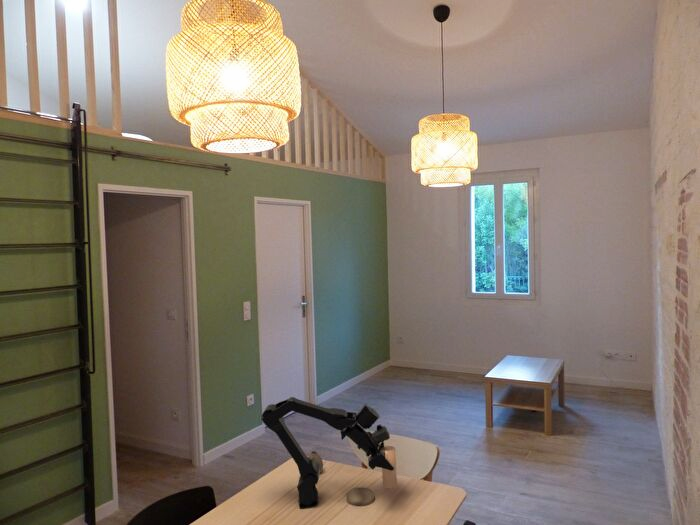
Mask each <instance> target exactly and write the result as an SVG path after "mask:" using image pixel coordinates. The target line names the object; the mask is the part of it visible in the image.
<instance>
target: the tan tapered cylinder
mask: <svg viewBox="0 0 700 525" xmlns="http://www.w3.org/2000/svg"><path fill="white" fill-rule="evenodd" d="M381 450H382V451H383V452H384V451H385V458H386V459H387V460H388V461H389V462H390V464H391V465H392V466H393V467H394V470H393V471H391V470H387V469H384V468H381V474H382V476H381V478H382V480H381V481H382V486H383V487H385V488H386V489H387V488H389V489H390V488H395V487H396V486H398V478H397V476H398V474H397V457H396V456H397V454H396V447H394V446H393V445H391V446H390V445H384V447H382V448H381Z"/></svg>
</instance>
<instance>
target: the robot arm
mask: <svg viewBox="0 0 700 525" xmlns="http://www.w3.org/2000/svg"><path fill="white" fill-rule="evenodd" d="M291 412H294V413H297V414H301V415H304V416H306V417H307V416H308V417H310V418H312V419H313V418H314V419H316V420H319V421H322V422H324V423H326V424H327V426H330V427H331V428H334V429H335V430H337V431H340V436H341V439H340V440H344V439H345V438H346V437H347V438H349V439H350V440H351V441H352V442H353V443H354V444H355V446H356V447H357V449H358V450H362V451H363V452H364V453H365V455H366V457H367V460H368V461H367V463H368V468H370V469H371V470H372V471H373V470H375V469H376V468H380V469H382V468H384V469H387V470H391V471H393V470H394V467H393V466H392V465H391V464H390V462H389V461H388V460H387V459H386V458H385V451H384V452H383V451H382V450H381V448H382V447H385V442H384V441H388V440H390V439H391V436H390V433H389V431H388V428H387V427H386V426H385V425H382V424H381V423H380V424H378V425H376V430H374V432H371V431H370V430H369V429H370V428H371V427H372V426H373V425H374V424H375V423H376V422H377V420H379V418H380V414H379V413H378V411H376V410H375V409H374V408H373V407H370V406H368V405H367V404H363V406H362V408H361V409H360V410H359V411H358V412H351V411H347V410H345V409H343V408H337V407H334V408H332V407H330V408H328V407H323V406H320V405H317V404H314V403H312V402H308V401H305V400H302V399H298V398H296V397H294V396H291V397H289V398H287V399H285V400H282V401H278V403H275V404H272V403H270V404H268V405H267V406H266V407H265V409H264V410H263V412H262V414H261V421H262V423H263V424H264V425H265V426H266V427H267V428H268V429H269V430H271V431H272V432H273V433H275V435H276V436H277V437H278V439H279V440H280V441H281V443H282V444H283V446H284V448H285V449H286V451H287V452H288V454H289V455H290V456H291V458H292V459H293V461H294V462H295V464H296V466H297V469H298V472H299V479H298V483H297V487H296V489H297V495H298V496H297V497H298V499H297V503H298V506H299V509H300V510H301V509H308V508H314V507H318V505H319V504H318V502H319V494H318V492H319V491H318V488H317V487H316V486H317V484H318V482H319V478H320V474H321V472H320V468H319V467H320V465H319V464H318V463H317V462H316V460H315V458H314V457H313V458H312V459H310V458H308V457H309V456H307V454H306V452H304V450H303V449H302V447H301V445H300V444H299V443H298V441H297V439H296V438H295V437H294V435H293V434H292V431H290V429H289V428H288V426H287V424H286V422H285V419H284V417H285V416H286V415H287V414H289V413H291ZM367 429H368V430H369V431H367Z"/></svg>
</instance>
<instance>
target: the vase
mask: <svg viewBox="0 0 700 525" xmlns="http://www.w3.org/2000/svg"><path fill="white" fill-rule="evenodd" d="M307 457H308V458H310V459H312V458H313V457H314V458H315V460H316V462H317V463H318V464H319V465H320V467H319V468H320V473H322V471H323V468H324V462H323V458H322V457H321V455H320V454H319V453H318V452H317V450H313V451H312V450H311V452H310V454H309V456H307Z"/></svg>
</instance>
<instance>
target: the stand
mask: <svg viewBox="0 0 700 525" xmlns="http://www.w3.org/2000/svg"><path fill="white" fill-rule="evenodd" d="M374 501H375V492H374V491H373V490H372V489H371V488H368V487H364V486H363V487H360V486H359V487H355V488H352V489H349V490H348V491H347V492H346V503H347V504H349V505H350V506H353V507H365V506H368V505H371V504H372V503H373V502H374Z"/></svg>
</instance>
